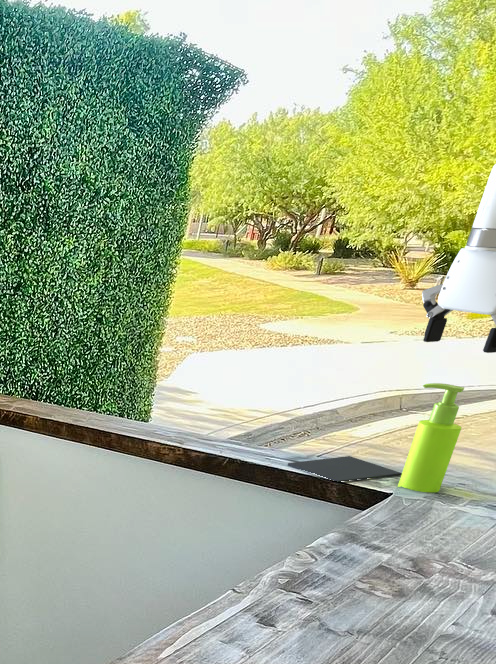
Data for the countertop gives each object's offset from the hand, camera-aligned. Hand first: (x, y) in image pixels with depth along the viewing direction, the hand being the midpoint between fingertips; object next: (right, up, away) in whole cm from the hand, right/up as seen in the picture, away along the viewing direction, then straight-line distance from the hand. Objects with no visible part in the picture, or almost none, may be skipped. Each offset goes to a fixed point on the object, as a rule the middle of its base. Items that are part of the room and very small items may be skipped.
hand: (460, 346), depth 130 cm
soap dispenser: (0, -25, +10) cm, 27 cm away
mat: (-4, -20, +21) cm, 30 cm away
